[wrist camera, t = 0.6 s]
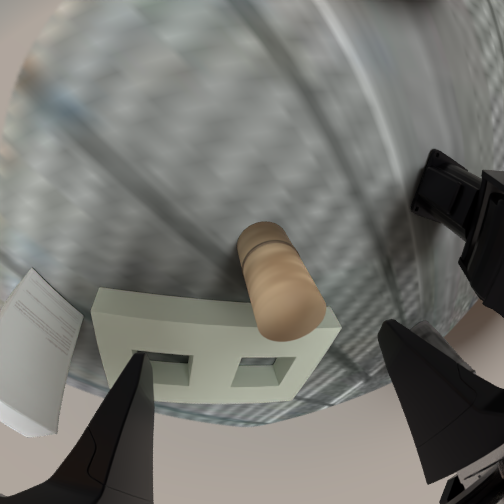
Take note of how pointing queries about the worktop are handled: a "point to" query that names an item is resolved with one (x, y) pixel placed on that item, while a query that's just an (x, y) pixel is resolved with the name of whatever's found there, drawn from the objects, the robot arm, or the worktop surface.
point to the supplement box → (35, 355)
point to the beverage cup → (438, 342)
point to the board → (204, 347)
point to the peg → (278, 284)
